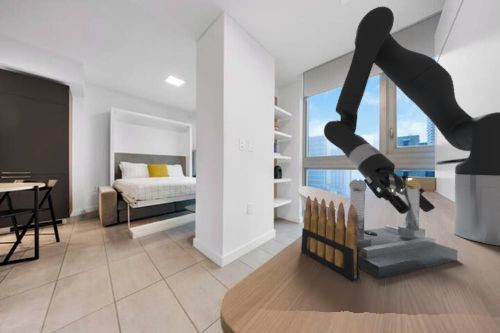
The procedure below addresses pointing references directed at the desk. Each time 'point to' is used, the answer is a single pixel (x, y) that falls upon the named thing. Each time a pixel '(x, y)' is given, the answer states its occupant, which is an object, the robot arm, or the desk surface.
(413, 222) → the gold topped lever
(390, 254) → the plate
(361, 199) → the silver ball-topped post
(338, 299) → the desk surface
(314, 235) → the ammunition clip
